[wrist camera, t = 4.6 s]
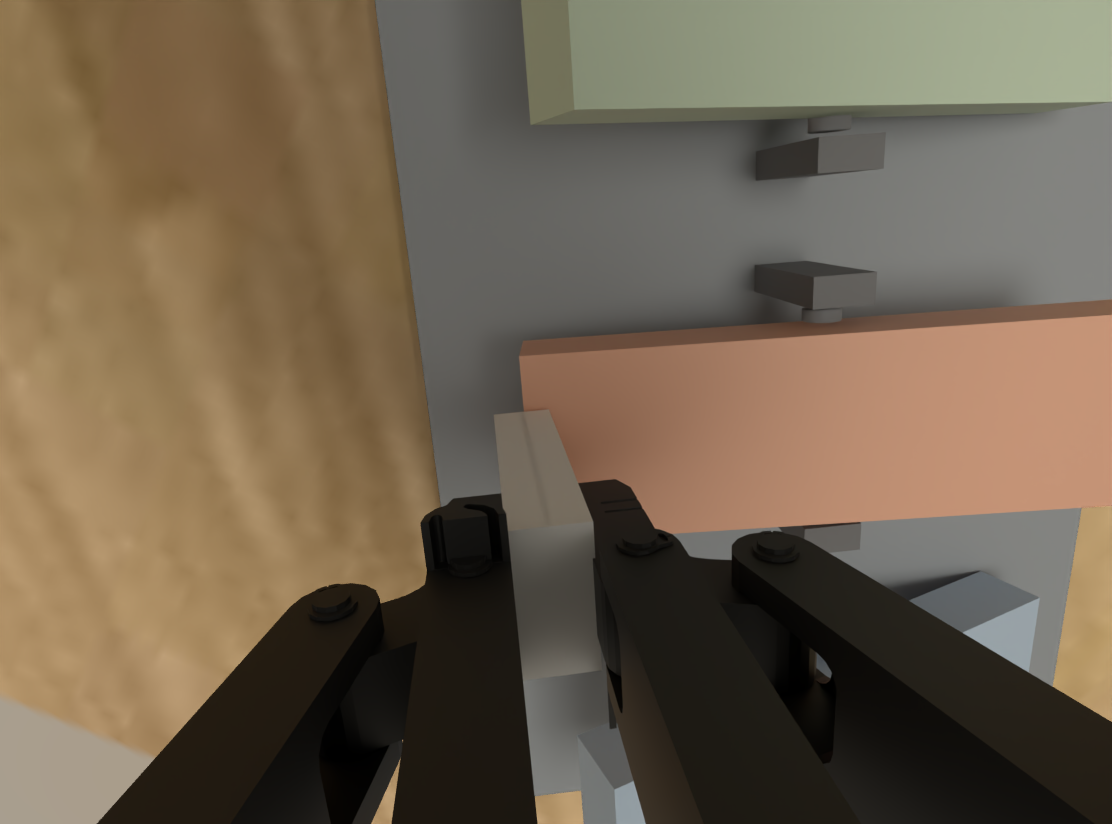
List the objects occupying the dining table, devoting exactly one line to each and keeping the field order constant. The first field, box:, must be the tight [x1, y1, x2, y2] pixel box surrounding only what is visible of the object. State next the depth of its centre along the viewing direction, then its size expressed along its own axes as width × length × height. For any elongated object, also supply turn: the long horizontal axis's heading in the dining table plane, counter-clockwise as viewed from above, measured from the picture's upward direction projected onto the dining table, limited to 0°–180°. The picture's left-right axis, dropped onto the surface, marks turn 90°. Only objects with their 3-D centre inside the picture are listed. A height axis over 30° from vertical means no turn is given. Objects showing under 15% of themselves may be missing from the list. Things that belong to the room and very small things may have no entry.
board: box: [375, 0, 1112, 796], centre depth 20 cm, size 30×22×5 cm
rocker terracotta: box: [519, 299, 1112, 534], centre depth 18 cm, size 6×16×2 cm, turn 94°
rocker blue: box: [577, 571, 1040, 824], centre depth 21 cm, size 6×16×2 cm, turn 94°
